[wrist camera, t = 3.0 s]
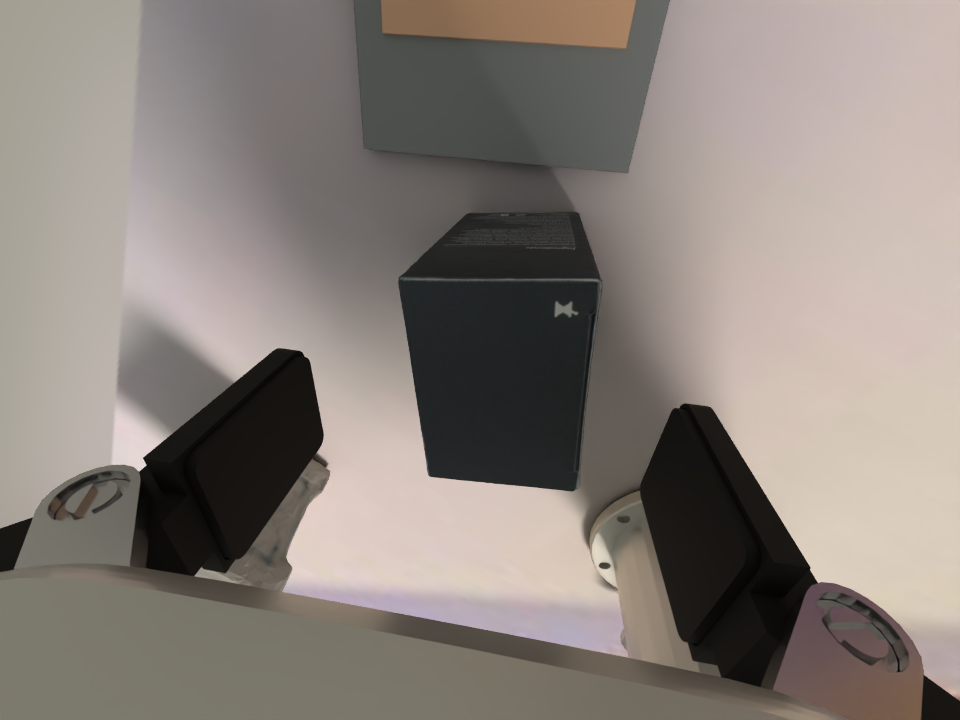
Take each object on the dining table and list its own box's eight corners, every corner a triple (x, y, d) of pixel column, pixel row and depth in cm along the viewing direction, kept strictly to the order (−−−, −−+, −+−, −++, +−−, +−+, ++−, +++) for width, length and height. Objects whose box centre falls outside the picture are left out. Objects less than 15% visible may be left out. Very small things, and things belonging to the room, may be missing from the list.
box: (464, 211, 19) (392, 274, 10) (579, 209, 18) (612, 276, 9) (472, 349, 23) (424, 483, 14) (567, 352, 22) (581, 497, 13)
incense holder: (278, 517, 35) (185, 646, 26) (203, 456, 32) (71, 577, 23) (349, 482, 31) (269, 620, 22) (271, 409, 28) (144, 534, 19)
